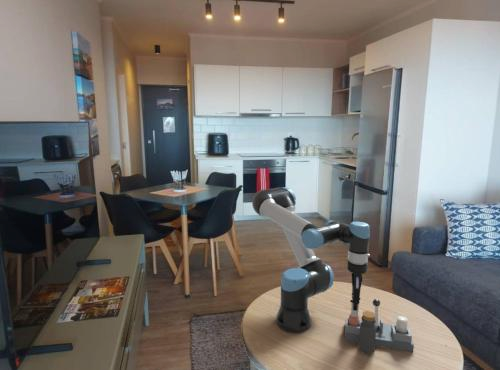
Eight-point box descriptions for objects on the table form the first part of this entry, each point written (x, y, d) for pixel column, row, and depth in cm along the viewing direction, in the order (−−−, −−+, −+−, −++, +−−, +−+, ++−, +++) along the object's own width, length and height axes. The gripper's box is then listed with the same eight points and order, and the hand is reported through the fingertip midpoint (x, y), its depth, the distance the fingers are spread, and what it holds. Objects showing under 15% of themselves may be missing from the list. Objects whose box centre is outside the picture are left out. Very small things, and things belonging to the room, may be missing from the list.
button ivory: (396, 332, 130) (397, 321, 129) (395, 326, 134) (396, 315, 133) (407, 334, 129) (408, 322, 128) (405, 328, 133) (406, 317, 132)
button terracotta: (348, 329, 135) (349, 318, 134) (348, 324, 139) (349, 313, 138) (358, 331, 134) (359, 319, 133) (358, 325, 138) (359, 314, 137)
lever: (372, 329, 135) (373, 298, 139) (371, 328, 138) (372, 298, 142) (380, 330, 134) (380, 299, 138) (379, 329, 137) (379, 299, 141)
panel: (345, 340, 134) (346, 324, 133) (344, 324, 145) (345, 308, 144) (413, 351, 128) (414, 334, 126) (407, 333, 139) (408, 317, 138)
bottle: (377, 353, 127) (380, 317, 124) (364, 355, 125) (367, 319, 123) (368, 343, 132) (370, 308, 130) (355, 346, 131) (357, 311, 128)
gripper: (369, 268, 124) (365, 326, 128) (366, 256, 137) (363, 308, 141) (348, 266, 126) (345, 323, 130) (347, 254, 139) (344, 306, 143)
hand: (354, 315), depth 135 cm, fingers closed
